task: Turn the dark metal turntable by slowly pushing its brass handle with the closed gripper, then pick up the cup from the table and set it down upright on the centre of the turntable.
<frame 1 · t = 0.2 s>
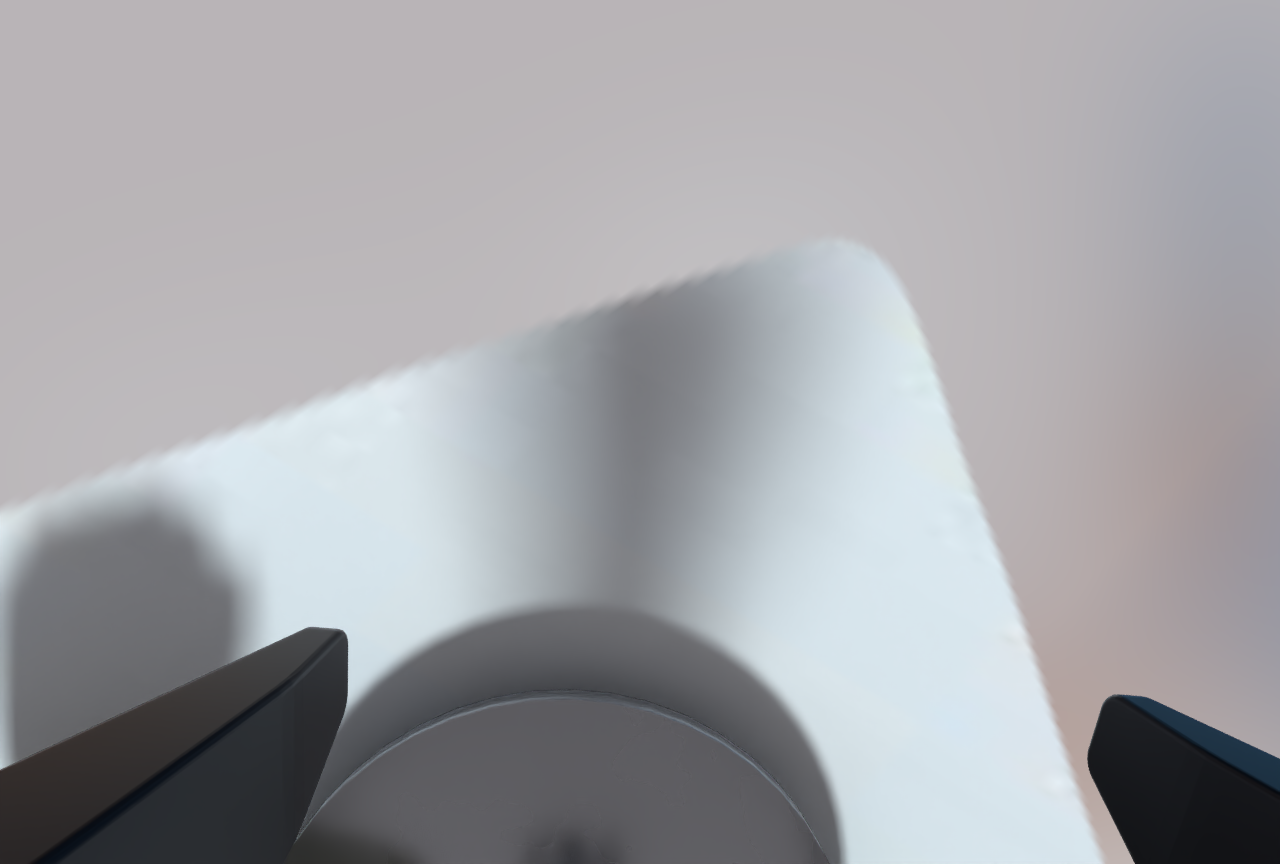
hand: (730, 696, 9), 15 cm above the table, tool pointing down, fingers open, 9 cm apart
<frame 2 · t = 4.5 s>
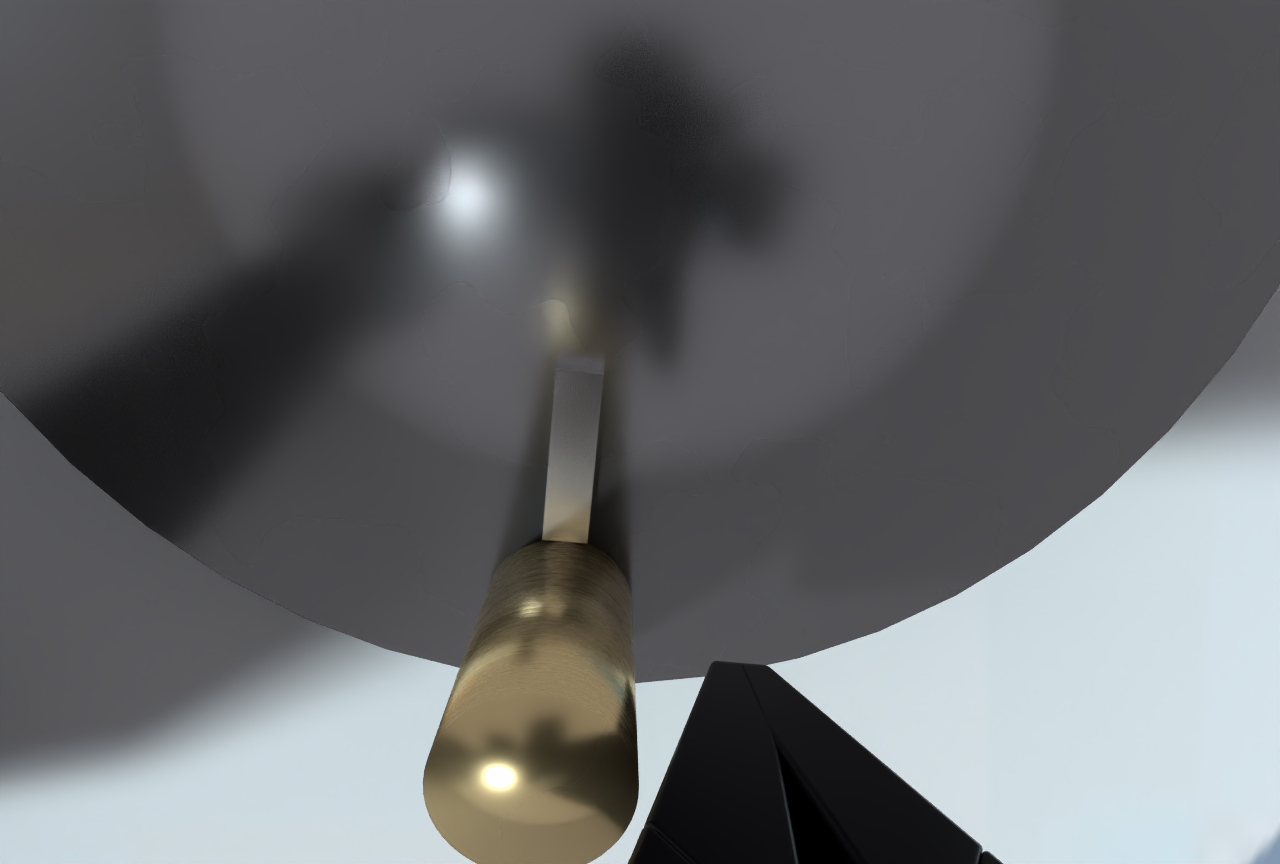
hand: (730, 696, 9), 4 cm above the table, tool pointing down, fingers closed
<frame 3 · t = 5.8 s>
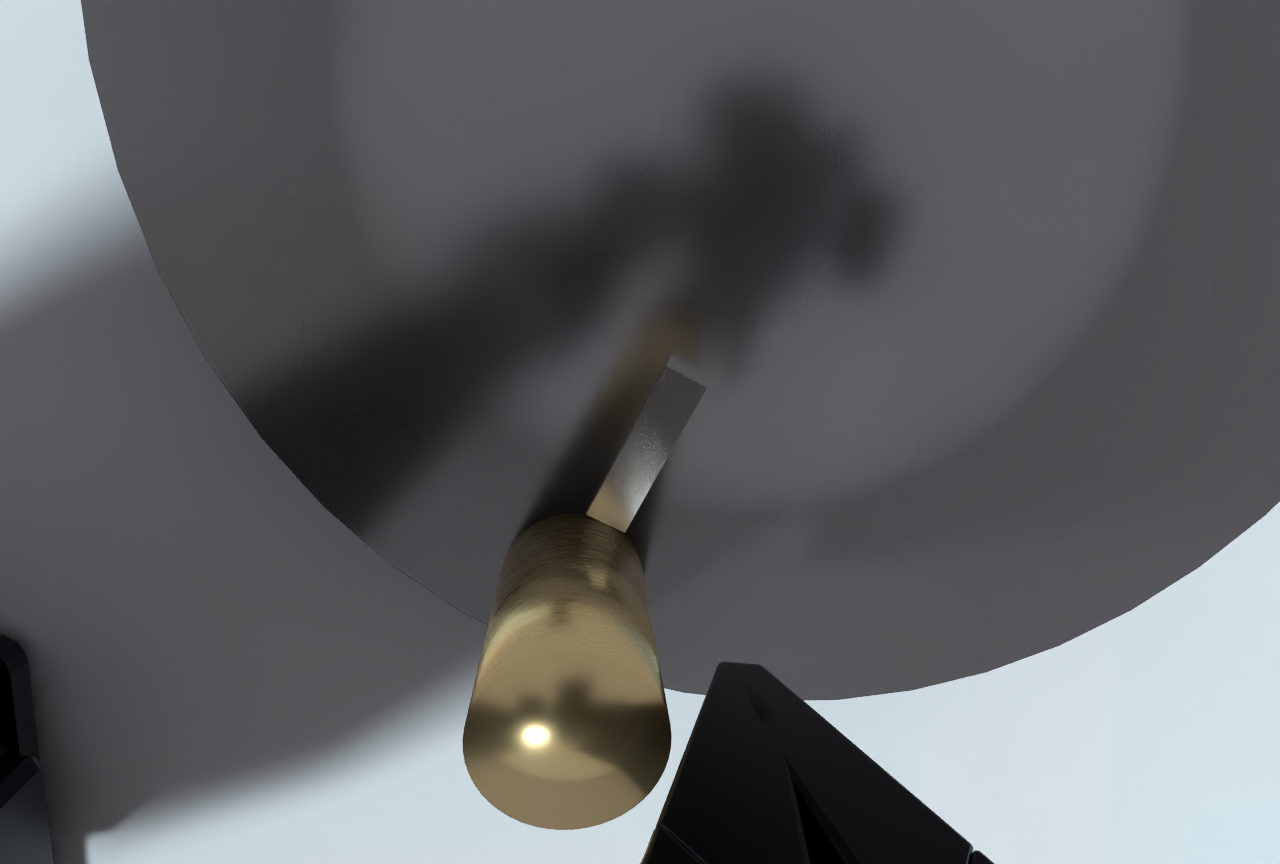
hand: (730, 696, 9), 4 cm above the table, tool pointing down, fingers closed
turntable: (913, 22, 8), point 4 cm above the table, hinge at -22.5°, touching gripper
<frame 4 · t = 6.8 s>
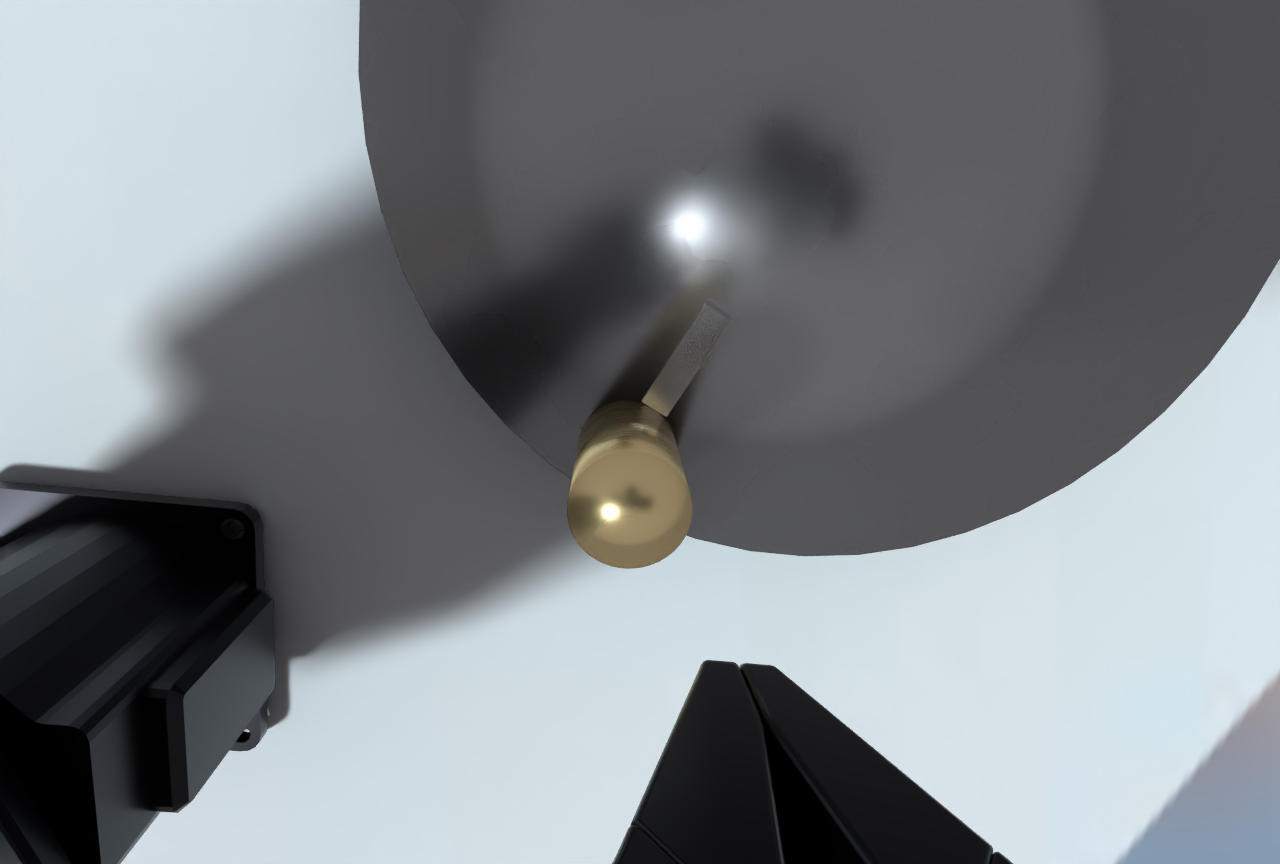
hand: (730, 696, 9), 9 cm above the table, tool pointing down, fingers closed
turntable: (881, 91, 13), point 3 cm above the table, hinge at -26.8°
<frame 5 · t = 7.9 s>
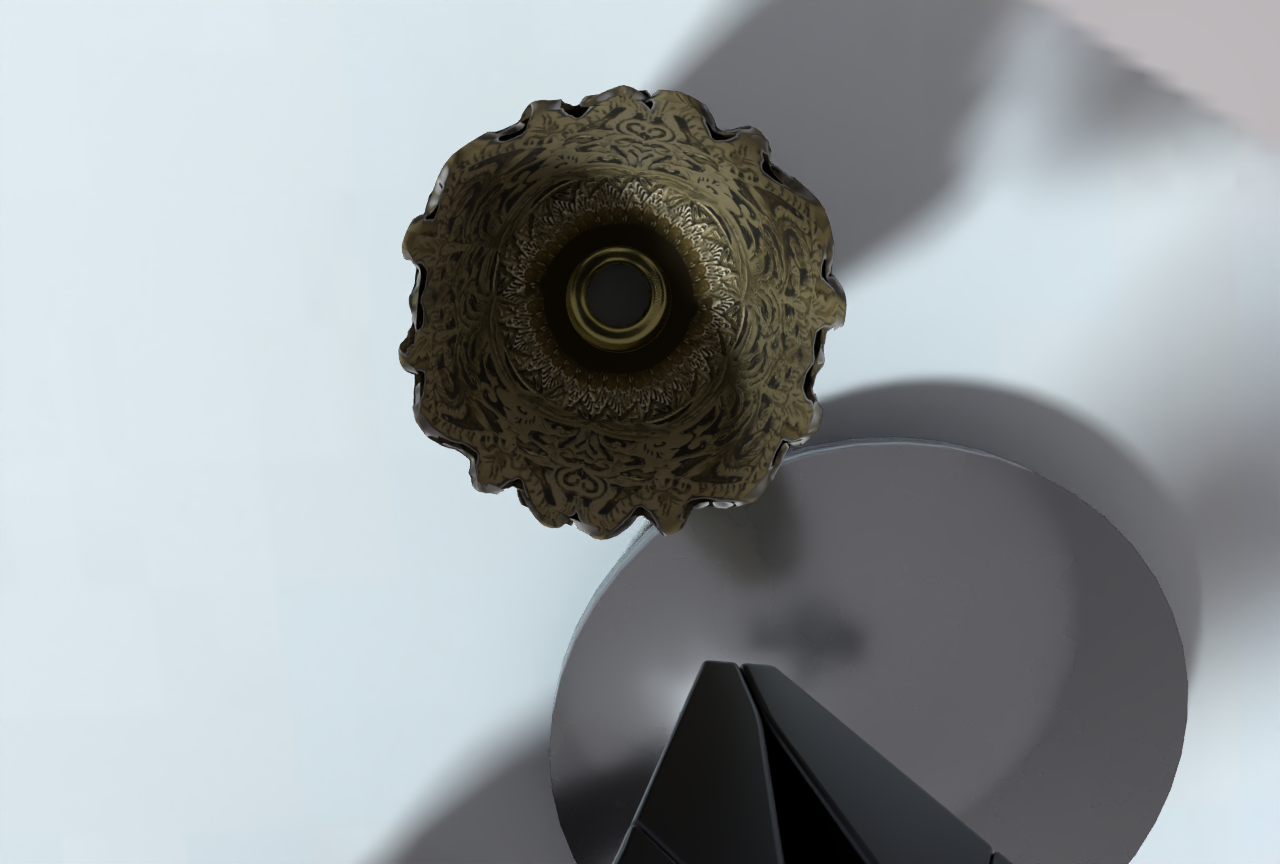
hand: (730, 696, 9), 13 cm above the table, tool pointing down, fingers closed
turntable: (886, 787, 20), point 4 cm above the table, hinge at -26.8°
cup: (618, 294, 20), on the table
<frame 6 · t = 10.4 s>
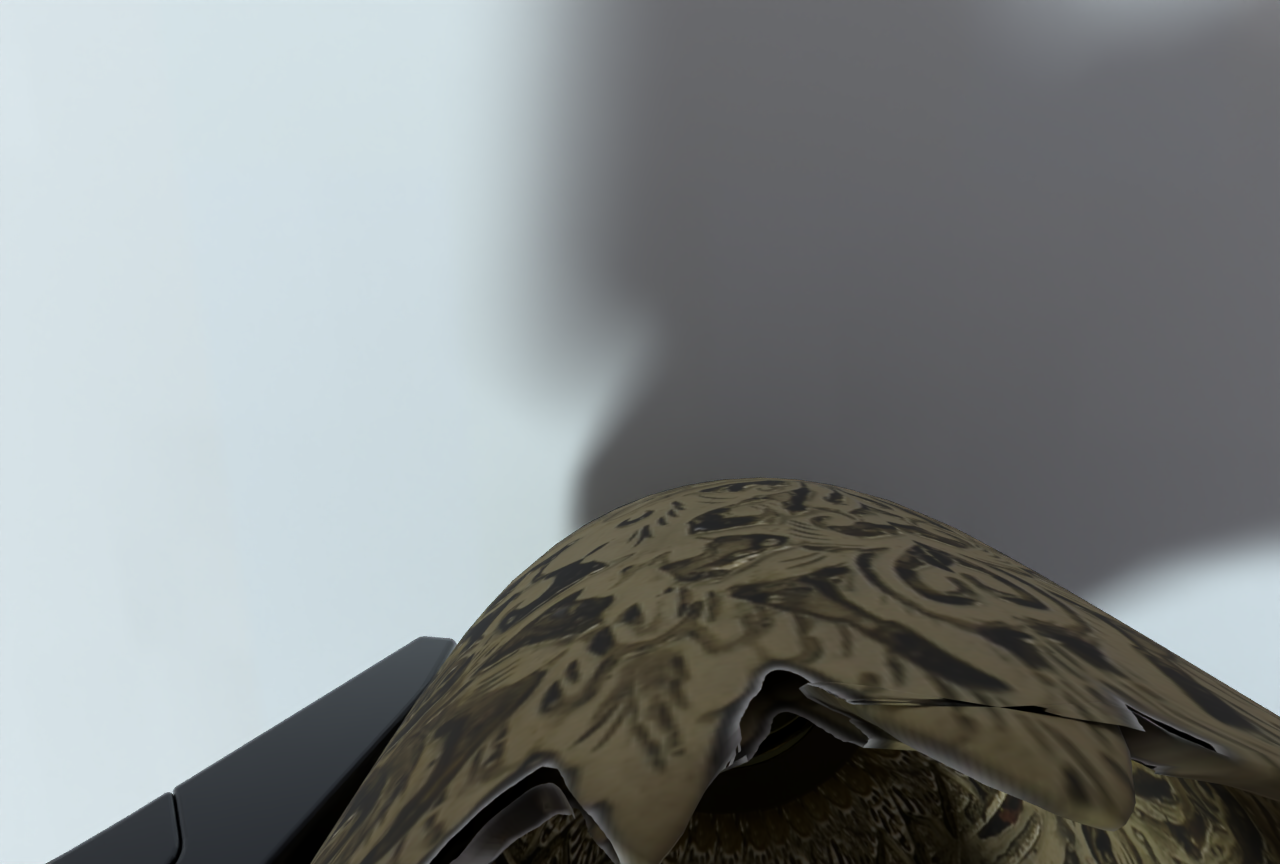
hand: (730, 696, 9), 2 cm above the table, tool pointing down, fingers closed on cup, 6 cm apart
cup: (709, 602, 11), on the table, touching gripper
when the fingers open (6 cm above the table, at t = 14.8 s): cup drops 1 cm, resting on turntable.
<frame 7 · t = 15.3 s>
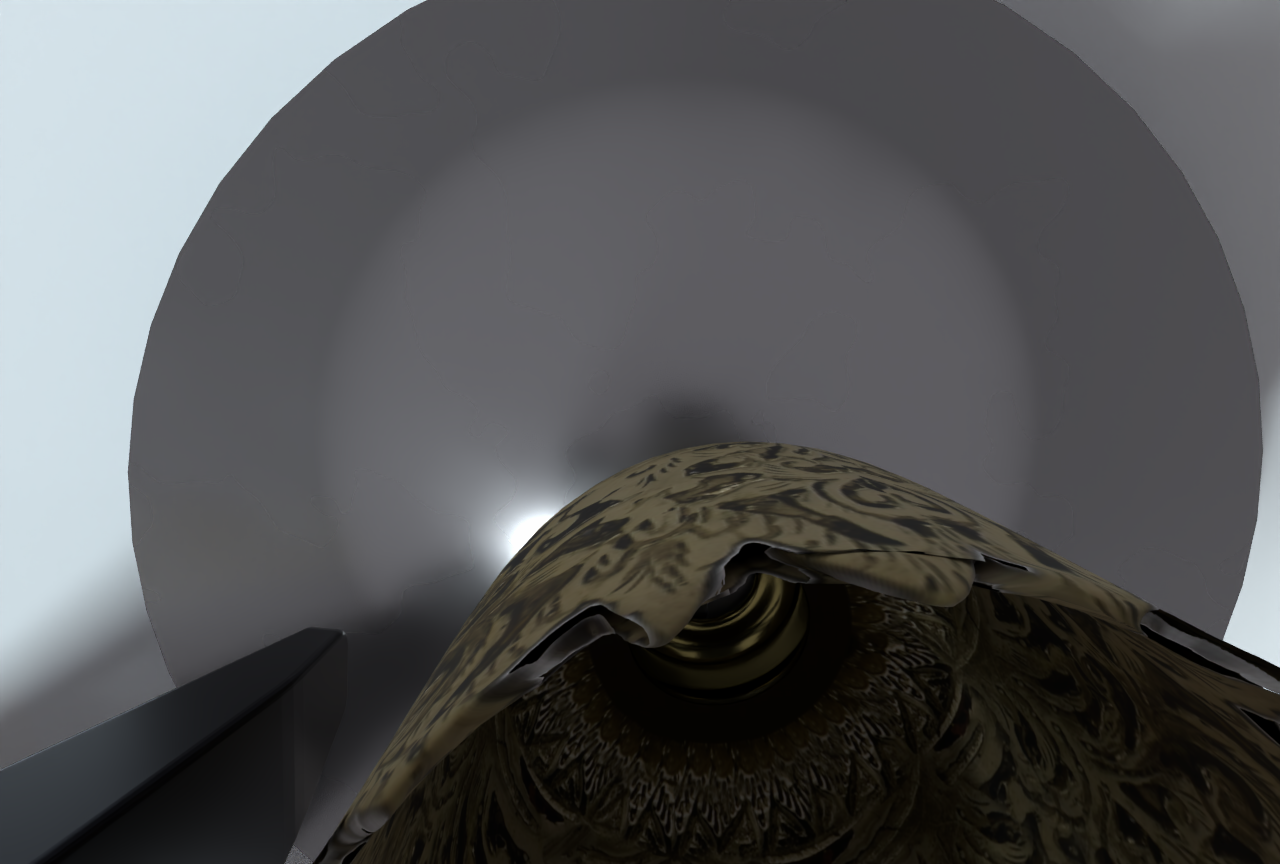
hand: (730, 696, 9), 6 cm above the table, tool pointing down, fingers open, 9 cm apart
turntable: (711, 603, 11), point 3 cm above the table, hinge at -26.8°, touching cup
cup: (702, 564, 12), point 2 cm above the table, touching turntable
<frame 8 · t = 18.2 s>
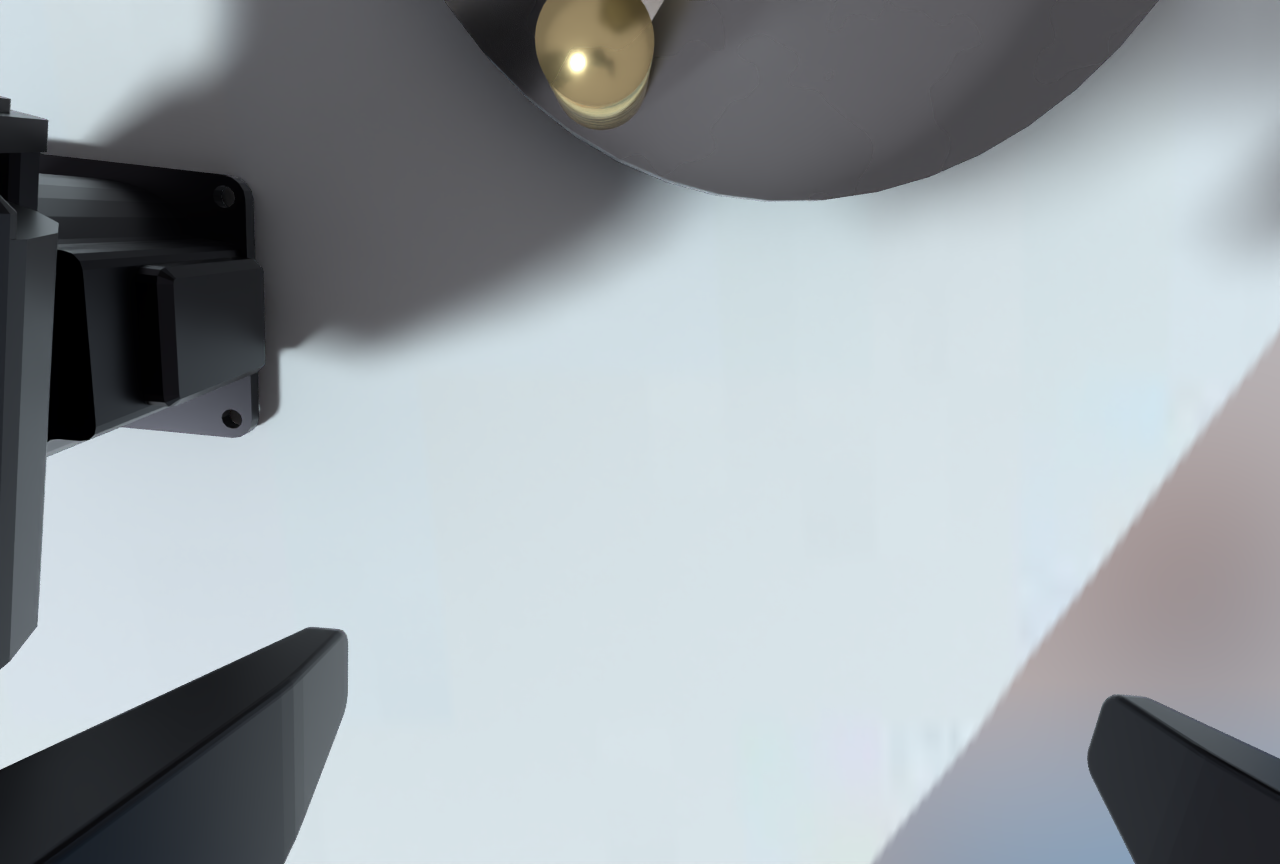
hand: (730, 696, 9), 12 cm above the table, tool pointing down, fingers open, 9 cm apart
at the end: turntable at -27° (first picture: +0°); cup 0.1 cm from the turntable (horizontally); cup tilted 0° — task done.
